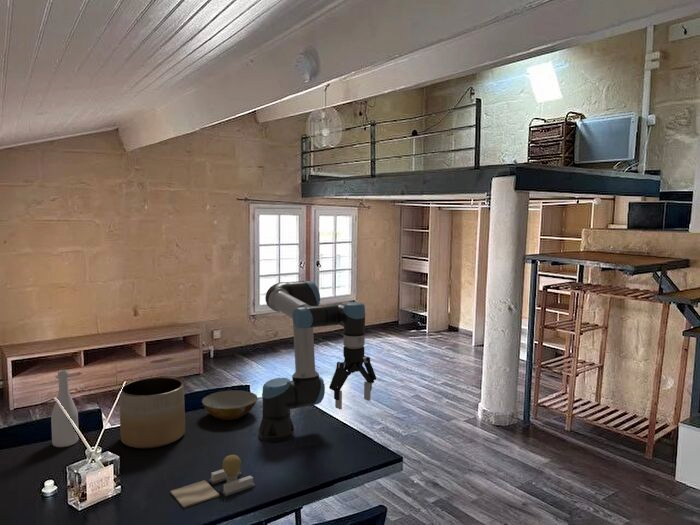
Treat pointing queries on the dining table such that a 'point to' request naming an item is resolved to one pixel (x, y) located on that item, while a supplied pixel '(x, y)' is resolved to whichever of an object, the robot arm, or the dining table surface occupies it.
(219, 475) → the socket rails
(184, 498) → the square wooden board
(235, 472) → the light bulb
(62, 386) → the wine bottle
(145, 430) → the planter
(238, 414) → the bowl
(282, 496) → the dining table surface
